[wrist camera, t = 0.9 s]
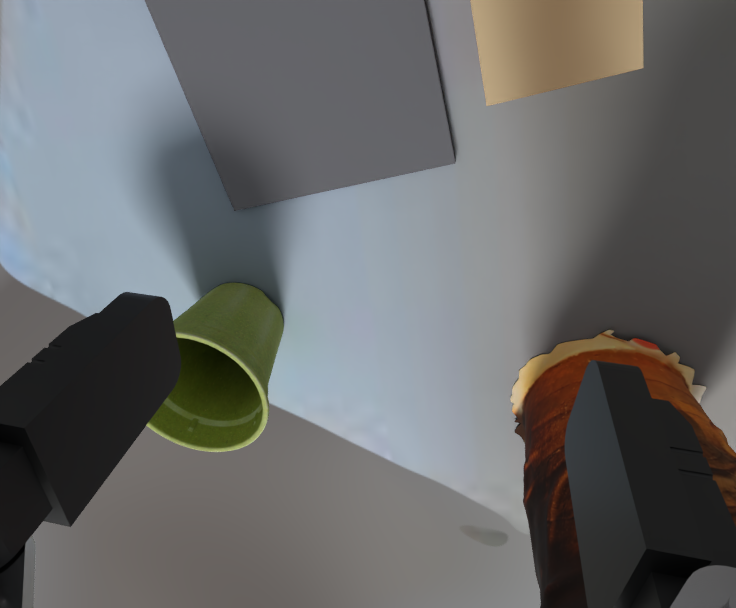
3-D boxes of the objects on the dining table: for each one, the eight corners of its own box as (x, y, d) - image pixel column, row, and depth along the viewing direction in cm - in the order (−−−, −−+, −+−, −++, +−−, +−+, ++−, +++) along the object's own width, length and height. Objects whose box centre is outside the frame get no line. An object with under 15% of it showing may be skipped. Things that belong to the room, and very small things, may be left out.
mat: (395, -152, 23) (394, -154, 22) (455, 160, 30) (455, 163, 29) (130, -46, 27) (125, -46, 26) (237, 207, 34) (234, 210, 33)
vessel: (776, 359, 33) (1062, 766, 17) (656, 491, 41) (768, 847, 25) (552, 297, 33) (618, 635, 17) (478, 440, 42) (474, 758, 25)
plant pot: (172, 252, 36) (98, 323, 29) (304, 267, 35) (260, 345, 28) (193, 357, 41) (134, 440, 34) (308, 373, 40) (273, 462, 33)
